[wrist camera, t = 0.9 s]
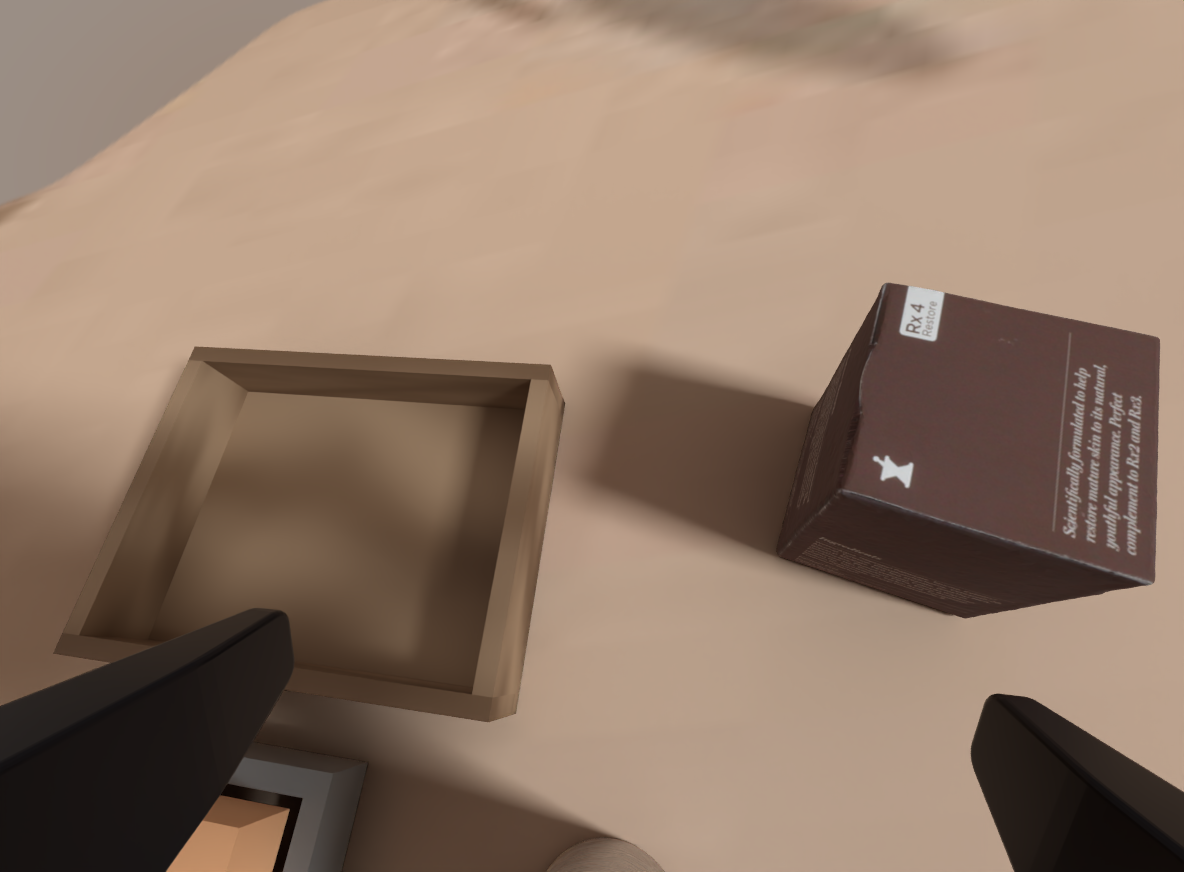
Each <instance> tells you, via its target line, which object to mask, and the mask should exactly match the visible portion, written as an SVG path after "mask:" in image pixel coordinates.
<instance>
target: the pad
mask: <svg viewBox="0 0 1184 872" xmlns="http://www.w3.org/2000/svg"><path fill="white" fill-rule="evenodd" d="M289 810H290V809H288V808H283V807H278V806H273V805H268V804H263V803H257V802H252V801H247V800H242V799H237V798H232V797H227V796H222V795H220V796H219V798H218V799H217V800H216V802H215V803H214V805H213V806H212V808H211V809H210V811H209V812H208V814H207V815H206V816H205V818H204V819H203V821H202V822H201V823H200V825H199V826H198V828H197V829H196V830H195V832H194V833H193V835H192V836H191V837H190V839H189V840H188V842H187V843H186V844H185V846H184V847H183V849H182V850H181V851H180V853H179V854H178V856H177V857H176V858H175V860H174V861H173V863H172V864H171V865H170V867H169V868H168V870H167V871H166V872H272V871H273V867H274V863H275V860H276V856H277V853H278V849H279V846H280V842H281V839H282V835H283V832H284V828H285V824H286V821H287V817H288V814H289Z"/></svg>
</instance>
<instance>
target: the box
mask: <svg viewBox="0 0 1184 872" xmlns="http://www.w3.org/2000/svg"><path fill="white" fill-rule="evenodd" d="M1159 365H1160V339H1159V338H1158V337H1154V336H1150V335H1146V334H1141V333H1136V332H1132V331H1127V330H1122V329H1117V328H1113V327H1107V326H1102V325H1097V324H1092V323H1088V322H1083V321H1078V320H1073V319H1068V318H1063V317H1058V316H1053V315H1048V314H1043V313H1038V312H1033V311H1028V310H1024V309H1018V308H1014V307H1009V306H1004V305H999V304H995V303H990V302H986V301H981V300H976V299H973V298H967V297H962V296H958V295H953V294H948V293H944V292H940V291H936V290H930V289H924V288H918V287H912V286H906V285H900V284H893V283H885V284H884V285H883V286H882V288H881V290H880V292H879V295H878V297H877V299H876V301H875V303H874V305H873V306H872V308H871V310H870V311H869V313H868V315H867V316H866V318H865V320H864V322H863V324H862V326H861V327H860V329H859V331H858V333H857V334H856V336H855V338H854V340H853V342H852V343H851V345H850V347H849V349H848V350H847V352H846V354H845V355H844V357H843V359H842V361H841V363H840V365H839V367H838V368H837V370H836V372H835V374H834V376H833V377H832V379H831V381H830V383H829V385H828V387H827V388H826V390H825V392H824V394H823V395H822V397H821V398H820V400H819V401H818V403H817V404H816V406H815V407H814V409H813V412H812V416H811V419H810V423H809V427H808V431H807V435H806V439H805V443H804V446H803V449H802V453H801V457H800V460H799V464H798V468H797V471H796V475H795V479H794V483H793V487H792V490H791V494H790V499H789V503H788V506H787V510H786V515H785V519H784V522H783V526H782V530H781V534H780V537H779V541H778V545H777V554H778V555H779V556H781V557H783V558H785V559H789V560H792V561H795V562H798V563H801V564H803V565H807V566H810V567H813V568H815V569H818V570H822V571H825V572H827V573H830V574H833V575H836V576H840V577H843V578H846V579H849V580H851V581H854V582H857V583H860V584H863V585H866V586H869V587H873V588H875V589H878V590H881V591H884V592H887V593H890V594H893V595H897V596H899V597H902V598H905V599H908V600H911V601H914V602H917V603H920V604H923V605H926V606H929V607H932V608H935V609H938V610H941V611H944V612H947V613H950V614H953V615H956V616H959V617H962V618H970V617H976V616H980V615H986V614H990V613H998V612H1002V611H1008V610H1016V609H1019V608H1025V607H1030V606H1035V605H1040V604H1046V603H1051V602H1057V601H1063V600H1068V599H1075V598H1080V597H1086V596H1091V595H1099V594H1103V593H1105V592H1107V591H1112V590H1119V589H1126V588H1133V587H1137V586H1146V585H1151V584H1153V583H1154V581H1155V556H1156V519H1157V462H1158V409H1159Z"/></svg>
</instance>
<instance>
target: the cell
mask: <svg viewBox="0 0 1184 872" xmlns="http://www.w3.org/2000/svg"><path fill="white" fill-rule="evenodd" d="M546 872H664V870H663V869H662V868H661V866H660V865H659V864H658V863H657V862H656V861H655V860H654V859H653V858H652V857H651V856H650V855H648V854H647V853H646V852H645V851H643V850H642V849H640V848H638V847H637V846H635V845H633V844H631V843H628V842H626V841H623V840H619V839H615V838H606V837H605V838H593V839H589V840H585V841H582V842H580V843H577V844H575V845H574V846H572V847H570V848H568V849H567V850H566V851H565V852H563V853H562V854H561V855H560V856H559V857H558V858H557V859H556V860H555V861H554V862H553V863H552V864H551V865H550V867H549V868H548V870H547V871H546Z"/></svg>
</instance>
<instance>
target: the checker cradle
mask: <svg viewBox="0 0 1184 872" xmlns="http://www.w3.org/2000/svg"><path fill="white" fill-rule="evenodd" d="M367 764H368V762H363V761H357V760H352V759H346V758H340V757H335V756H329V755H323V754H318V753H312V752H306V751H301V750H295V749H289V748H284V747H278V746H272V745H267V744H261V743H255V742H252V744H251V746H250V747H249V749H248V751H247V753H246V754H245V756H244V758H243V759H242V761H241V763H240V764H239V766H238V768H237V769H236V771H235V773H234V774H233V776H232V777H231V779H230V781H229V782H228V784H231V785H237V786H242V787H247V788H252V789H258V790H263V791H268V792H273V793H279V794H284V795H289V796H294V797H300V798H303V800H302V804H301V807H300V811H299V815H298V818H297V822H296V826H295V829H294V833H293V836H292V840H291V844H290V847H289V851H288V855H287V858H286V862H285V865H284V869H283V872H341V871H342V867H343V863H344V859H345V855H346V851H347V846H348V842H349V838H350V834H351V830H352V826H353V822H354V818H355V814H356V809H357V805H358V801H359V797H360V793H361V789H362V785H363V781H364V776H365V772H366V768H367Z"/></svg>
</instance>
